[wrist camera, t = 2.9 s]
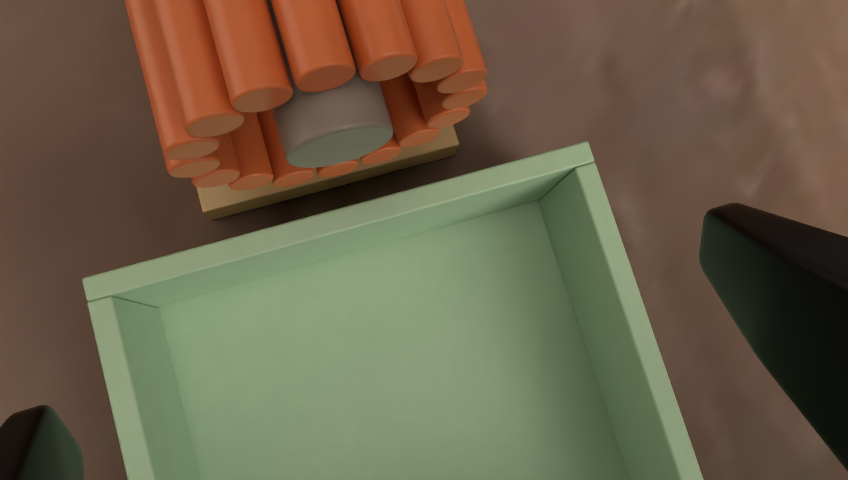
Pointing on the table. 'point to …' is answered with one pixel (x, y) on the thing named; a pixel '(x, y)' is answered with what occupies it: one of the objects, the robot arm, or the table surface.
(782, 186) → the table surface
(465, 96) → the ring
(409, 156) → the ring stand
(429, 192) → the bin
